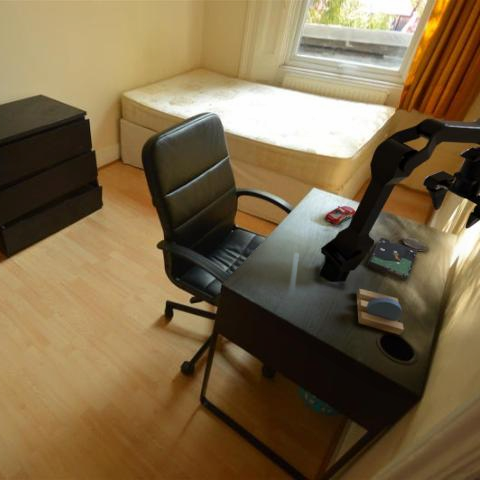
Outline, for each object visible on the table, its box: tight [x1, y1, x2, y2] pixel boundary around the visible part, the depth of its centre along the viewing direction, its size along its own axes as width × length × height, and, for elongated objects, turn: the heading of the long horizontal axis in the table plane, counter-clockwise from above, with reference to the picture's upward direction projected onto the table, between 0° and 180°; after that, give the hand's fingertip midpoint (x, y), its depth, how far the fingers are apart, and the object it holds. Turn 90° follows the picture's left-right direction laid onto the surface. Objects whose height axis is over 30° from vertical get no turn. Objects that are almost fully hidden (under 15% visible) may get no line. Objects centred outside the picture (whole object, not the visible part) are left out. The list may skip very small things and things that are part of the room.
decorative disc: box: [401, 236, 427, 252], centre depth 107 cm, size 6×6×1 cm
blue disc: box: [367, 297, 403, 321], centre depth 81 cm, size 7×2×7 cm, turn 68°
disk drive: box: [366, 237, 418, 282], centre depth 100 cm, size 10×3×15 cm
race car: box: [324, 205, 356, 226], centre depth 117 cm, size 13×5×4 cm, turn 122°
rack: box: [356, 288, 405, 336], centre depth 84 cm, size 9×10×3 cm
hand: (451, 218), depth 92 cm, fingers open, 9 cm apart
